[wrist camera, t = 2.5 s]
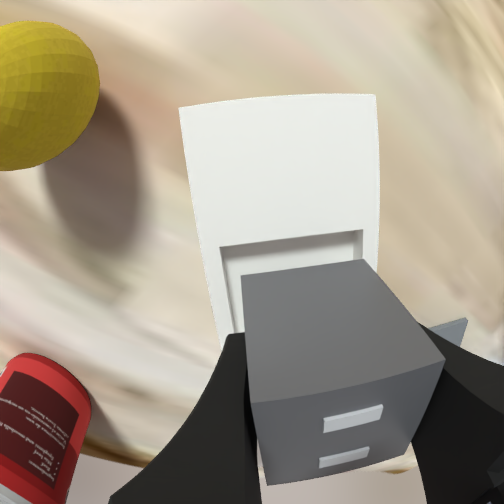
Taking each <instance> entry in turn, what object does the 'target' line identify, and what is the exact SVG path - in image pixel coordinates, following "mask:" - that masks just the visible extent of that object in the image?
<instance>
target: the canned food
mask: <svg viewBox="0 0 504 504" xmlns="http://www.w3.org/2000/svg"><path fill="white" fill-rule="evenodd" d="M90 419H91V403H90V399H89V397H88V394H87V393H86V391H85V389H84V388H83V386H82V385H81V384H80V383H79V382H78V381H77V379H76V378H75V377H74V376H73V375H72V374H70V373H69V372H68V371H67V370H66V369H64V368H63V367H62V366H60V365H59V364H57V363H56V362H54V361H52V360H50V359H48V358H46V357H43V356H40V355H38V354H33V353H22V354H20V355H17V356H16V357H14V358H13V359H11V360H10V361H9V362H8V363H7V365H6V366H5V368H4V369H3V371H2V372H1V374H0V504H66V500H67V496H68V492H69V488H70V485H71V481H72V477H73V473H74V470H75V467H76V463H77V460H78V457H79V454H80V450H81V447H82V444H83V441H84V438H85V434H86V431H87V428H88V425H89V422H90Z"/></svg>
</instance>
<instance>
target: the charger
mask: <svg viewBox="0 0 504 504" xmlns="http://www.w3.org/2000/svg"><path fill="white" fill-rule="evenodd" d="M241 289H242V303H243V316H244V329H245V341H246V354H247V366H248V378H249V390H250V402H251V408H252V413H253V418H254V424H255V429H256V434H257V439H258V444H259V449H260V454H261V459H262V464H263V468H264V473H265V478H266V482H267V486H268V485H276V484H284V483H291V482H297V481H303V480H308V479H314V478H319V477H324V476H329V475H333V474H338V473H342V472H346V471H350V470H354V469H358V468H362V467H365V466H369V465H372V464H376V463H379V462H382V461H385V460H389V459H392V458H395V457H398V456H401V455H403V454H404V453H405V452H406V450H407V448H408V446H409V444H410V442H411V440H412V438H413V436H414V434H415V432H416V430H417V428H418V426H419V424H420V422H421V419H422V417H423V415H424V413H425V411H426V408H427V406H428V404H429V401H430V399H431V397H432V394H433V392H434V389H435V387H436V384H437V382H438V379H439V377H440V374H441V371H442V369H443V366H444V363H445V360H446V359H445V358H444V356H443V355H442V354H441V352H440V351H439V350H438V348H437V347H436V346H435V344H434V343H433V342H432V340H431V339H430V338H429V337H428V335H427V334H426V333H425V331H424V330H423V329H422V328H421V326H420V325H419V324H418V323H417V321H416V320H415V319H414V318H413V316H412V315H411V314H410V313H409V311H408V310H407V309H406V308H405V307H404V305H403V304H402V303H401V302H400V300H399V299H398V298H397V297H396V296H395V294H394V293H393V292H392V291H391V290H390V289H389V287H388V286H387V285H386V284H385V283H384V281H383V280H382V279H381V278H380V277H379V276H378V274H377V273H376V272H375V271H374V270H373V269H372V268H371V266H370V265H369V264H368V263H367V262H366V261H365V260H364V259H358V260H351V261H344V262H337V263H330V264H323V265H315V266H308V267H301V268H293V269H286V270H278V271H271V272H263V273H255V274H247V275H241Z"/></svg>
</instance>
